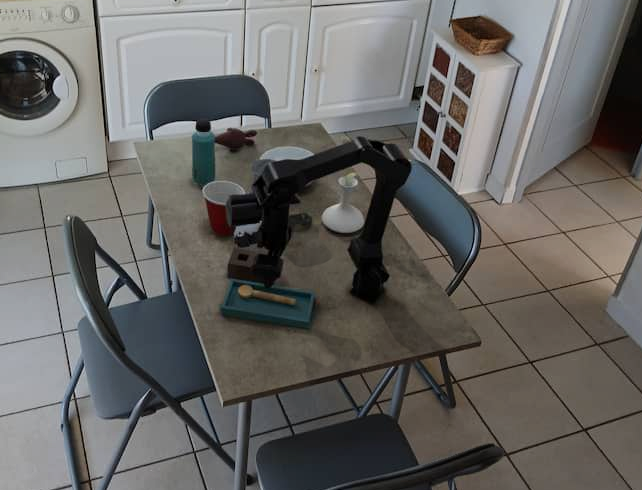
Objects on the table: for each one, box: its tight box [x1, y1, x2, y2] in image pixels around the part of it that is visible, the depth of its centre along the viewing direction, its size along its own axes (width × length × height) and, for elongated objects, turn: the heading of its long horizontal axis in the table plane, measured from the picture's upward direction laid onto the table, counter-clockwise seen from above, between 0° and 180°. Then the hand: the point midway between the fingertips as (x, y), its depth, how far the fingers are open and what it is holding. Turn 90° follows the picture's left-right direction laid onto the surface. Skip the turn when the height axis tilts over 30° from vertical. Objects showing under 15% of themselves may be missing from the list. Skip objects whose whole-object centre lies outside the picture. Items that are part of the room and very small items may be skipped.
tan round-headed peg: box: [238, 285, 296, 306], centre depth 172 cm, size 3×2×14 cm
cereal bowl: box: [259, 146, 315, 187], centre depth 211 cm, size 17×17×7 cm
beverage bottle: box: [191, 118, 216, 186], centre depth 203 cm, size 6×7×20 cm
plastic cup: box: [201, 180, 246, 236], centre depth 190 cm, size 11×11×12 cm
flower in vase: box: [321, 135, 365, 234], centre depth 193 cm, size 13×11×25 cm
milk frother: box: [250, 159, 313, 226], centre depth 195 cm, size 14×16×15 cm
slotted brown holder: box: [227, 247, 268, 284], centre depth 179 cm, size 10×6×4 cm, turn 82°
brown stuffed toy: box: [215, 127, 258, 152], centre depth 224 cm, size 7×7×15 cm
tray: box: [220, 278, 316, 330], centre depth 171 cm, size 20×10×2 cm, turn 82°
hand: (271, 274), depth 166 cm, fingers open, 9 cm apart
